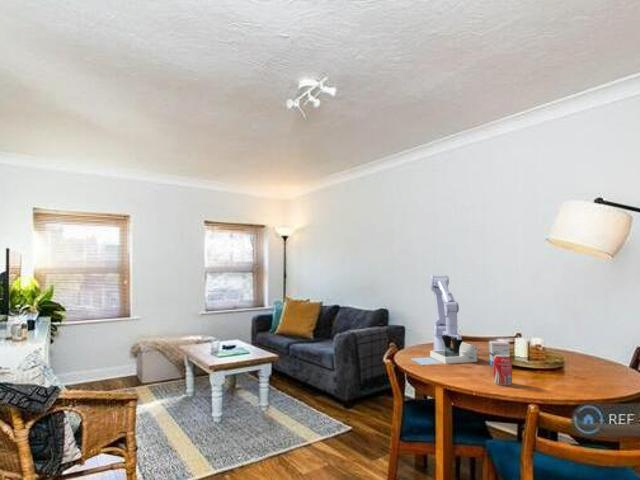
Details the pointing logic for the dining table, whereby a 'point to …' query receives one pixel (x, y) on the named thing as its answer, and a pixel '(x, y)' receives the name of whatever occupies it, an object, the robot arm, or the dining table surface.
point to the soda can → (502, 369)
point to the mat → (425, 361)
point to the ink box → (497, 349)
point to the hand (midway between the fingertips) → (452, 351)
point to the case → (465, 355)
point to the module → (450, 352)
